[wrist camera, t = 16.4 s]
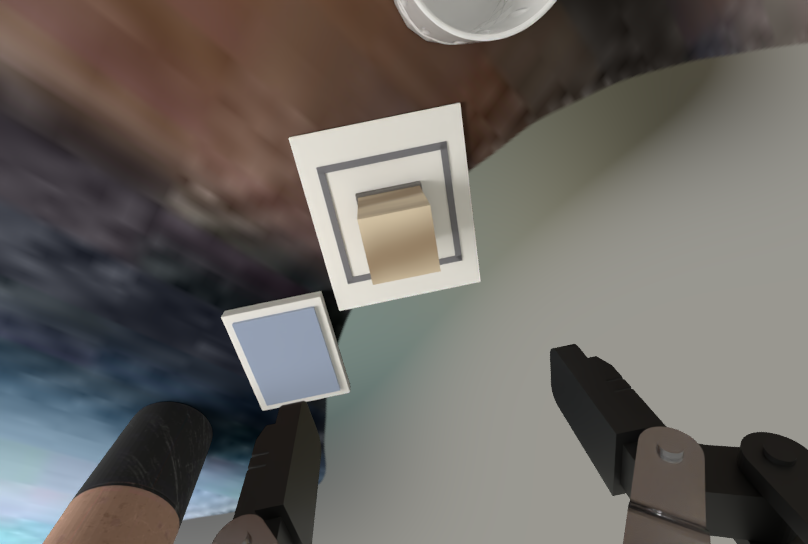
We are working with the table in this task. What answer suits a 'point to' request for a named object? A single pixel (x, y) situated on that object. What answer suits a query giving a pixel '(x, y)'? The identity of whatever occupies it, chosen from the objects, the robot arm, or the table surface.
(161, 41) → the table surface
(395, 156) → the sheet
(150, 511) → the travel mug
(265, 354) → the ink pad
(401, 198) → the stamp
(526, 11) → the white cup
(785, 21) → the table surface
